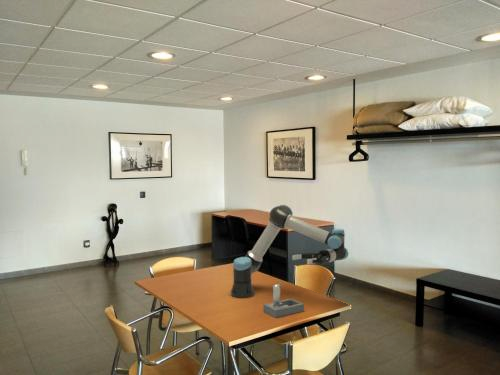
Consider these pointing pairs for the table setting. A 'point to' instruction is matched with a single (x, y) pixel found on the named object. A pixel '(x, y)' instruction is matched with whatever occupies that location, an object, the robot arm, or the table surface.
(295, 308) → the keyhole plate
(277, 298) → the steel peg
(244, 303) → the table surface
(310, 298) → the table surface
